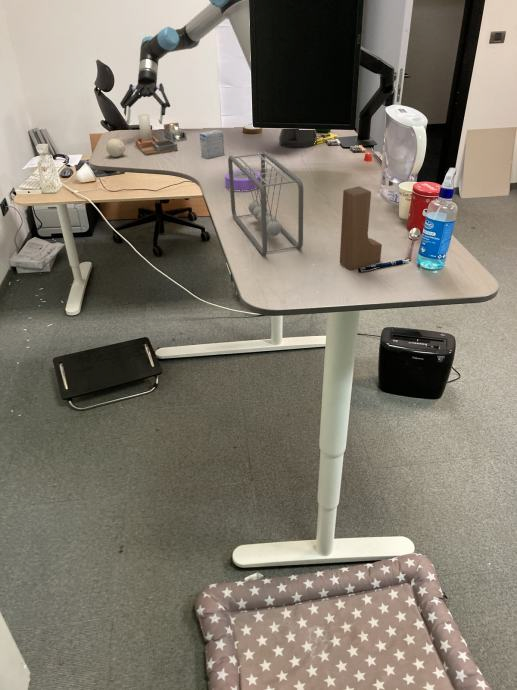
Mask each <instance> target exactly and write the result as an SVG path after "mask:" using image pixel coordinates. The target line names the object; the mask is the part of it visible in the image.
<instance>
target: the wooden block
mask: <svg viewBox="0 0 517 690" xmlns="http://www.w3.org/2000/svg"><path fill="white" fill-rule="evenodd" d="M342 192H343V193H342V208H341V209H342V210H341V212H342V213H341V230H340V231H341V232H340V248H339V264H340V265H341V266H343V267H344V268H346V269H348V270H350V271H353V270H355V269H358V268H359V269H360V268H362V267H367V266H369V265H372V264H374V263H378V262H380V261H381V258H382V247H383V246H382V243H380V242H379V241H377V240H375V239H373V238H370V237H369V234H368V233H369V223H370V209H371V199H372V192H371V190H368V189H366V188H364V187H362V186H355V187H350V188H345V189H343V191H342Z"/></svg>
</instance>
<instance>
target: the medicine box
mask: <svg viewBox="0 0 517 690" xmlns="http://www.w3.org/2000/svg"><path fill="white" fill-rule="evenodd" d="M199 141H200V152H201V153H200V154H201V157H202V158H204V159H206V158H207V160H209V159H213V158H216V156H217V157H220V155H221V156H223V155H224V156H225V146H224V145H225V144H224V132H223V131H221V130H220V129H219V130H218V129H215V130H210V131H205V132H201V133H199ZM212 157H213V158H212Z"/></svg>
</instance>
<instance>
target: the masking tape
mask: <svg viewBox="0 0 517 690" xmlns="http://www.w3.org/2000/svg"><path fill="white" fill-rule="evenodd" d="M247 170H248V171H249V172H250V171H251V170H250V169H247ZM254 171H255V172H256V173H257V174H259V176H260V177H261V175H260V172H259V171H258V170H254ZM251 174H252V175H253V176H254V172H253V171H251ZM254 177H255V178H256V179H257V180H258V181H259V178H258V176H257V175H256V174H255V176H254ZM224 179H225V180H224V183H225V188H226V187H227V188H228V189H227V188H226V189H227V190H229V189H230V181H229V171H228V172H226V173H225V176H224ZM233 181H234V190H240V191H242V190H243V192H245V191H244V190H251V189H254V188H257V186H256V185H255V184H254V183H253V182H252V181H251V180H250V179H248V177H247V176H246V175H245V174H244V173H243V172H242V171H241V170H240V169H234V170H233ZM249 181H250V184H249ZM260 183H261V184H262V180H261V179H260ZM253 184H254V186H253ZM250 185H251V188H250Z"/></svg>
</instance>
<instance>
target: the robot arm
mask: <svg viewBox="0 0 517 690" xmlns="http://www.w3.org/2000/svg"><path fill="white" fill-rule="evenodd" d="M209 2H210V3H209V4H207V6H206V7H205V8H203V9H202V10H201V11H199V13H198V14H196V16H194V17H193V18H192V19H191V20H190V21H188V23H186V24H185V25H183V27H182V28H177V29H174V28H173V27H171V26H166V27H164V28H163V29H161V30H160V31H159V32H158V33H156V34H155V36H152V35H151V36H150V35H149V36H144V37H143V38H142V40H141V44H140V51H139V64H138V75H137V76H138V77H137V84H136V85H133V84H131V83H130V84H129V86H128V90H127V91H126V93H125V95H124V96H123V98H122V99H121V101H120V106H121V108H122V109H124V110H123V113H124V116H125V123H126V124H127V125H128V126H129V125H130V121H131V111H132V109H131V108H132V107H133V106H134V104H135V103H137V101H138V100H140V99H141V98H142V97H143V98H146V97H147V98H150V97H153V99H155V100H156V102H157V103H158V104H159V107H158V122H159V125H162V124H163V116H165V115H166V109H167V108H170V107H171V103H170V102H169V99H168V96H167V95H166V92H165V87H164V85H163V83H159V84H157V83H158V82H157V81H158V71H159V61H160V60H161V59H162V58H163V57H164V56H166V55H167V54H169V53H173V52H178V51H183V50H191V49H193V48H196V47H197V46H199V44H200V40H202V38H204V37H205V36H207V35H208V34H209V33H211V31H213V30H215V28H217V27H218V26H219V25H220V24H221V23H222V22H224V21H225V20H226V19H227V20H228V21H229V23H230V25H231V27H232V31H233V32H234V35H235V36H236V40H237V41H238V44H239V46H240V48H241V51H242V53H243V55H244V58H245V61H246V63H247V66H248V68H249V70H250V71H251V61H250V26H249V0H209ZM157 90H158V91H159V92H160V93H161V96H162V98H163V99H164V101H163V100H162V98H160V96H159V95H158V94H157V93H156V92H157ZM278 140H279V142H278V143H279V145H280V146H281V147H285V148H291V149H292V148H293V149H295V148H296V149H298V148H299V149H300V148H309V147H312V146H314V143H315V141H316V140H317V141H318V135H317V133H316V129H315V130H299V129H282V128H281V130H280V135H279V138H278Z"/></svg>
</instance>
